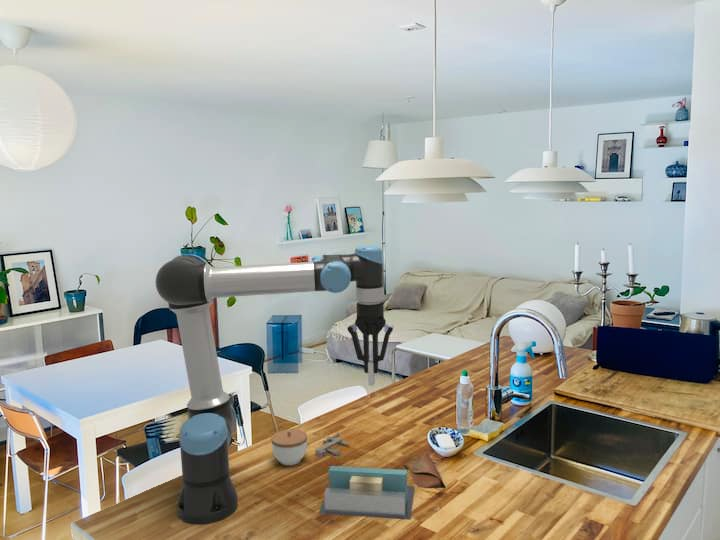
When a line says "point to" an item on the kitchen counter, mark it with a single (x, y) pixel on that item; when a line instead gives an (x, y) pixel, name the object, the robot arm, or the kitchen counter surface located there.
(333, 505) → the vise base
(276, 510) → the kitchen counter surface
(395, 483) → the slide jaw
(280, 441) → the lidded jar
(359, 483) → the block
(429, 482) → the sunglasses case
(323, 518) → the kitchen counter surface
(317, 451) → the clamp
